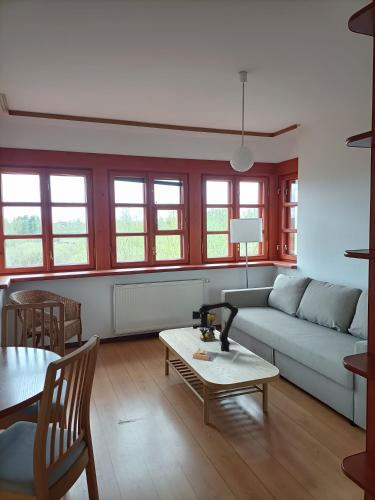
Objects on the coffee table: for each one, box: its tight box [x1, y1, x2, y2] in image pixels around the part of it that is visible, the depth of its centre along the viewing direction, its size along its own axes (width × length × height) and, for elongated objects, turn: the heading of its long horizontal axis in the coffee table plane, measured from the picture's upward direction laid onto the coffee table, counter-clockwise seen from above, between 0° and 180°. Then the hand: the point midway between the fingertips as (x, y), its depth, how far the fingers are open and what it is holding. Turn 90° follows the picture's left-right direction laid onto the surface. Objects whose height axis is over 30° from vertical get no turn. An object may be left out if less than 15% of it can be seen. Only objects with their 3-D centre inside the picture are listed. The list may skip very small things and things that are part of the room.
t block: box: [194, 349, 208, 356], centre depth 297 cm, size 9×8×4 cm
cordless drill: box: [199, 312, 218, 342], centre depth 339 cm, size 9×20×25 cm, turn 111°
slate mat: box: [193, 350, 220, 362], centre depth 300 cm, size 17×19×1 cm
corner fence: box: [192, 347, 209, 361], centre depth 299 cm, size 14×15×3 cm
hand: (204, 337), depth 310 cm, fingers closed
